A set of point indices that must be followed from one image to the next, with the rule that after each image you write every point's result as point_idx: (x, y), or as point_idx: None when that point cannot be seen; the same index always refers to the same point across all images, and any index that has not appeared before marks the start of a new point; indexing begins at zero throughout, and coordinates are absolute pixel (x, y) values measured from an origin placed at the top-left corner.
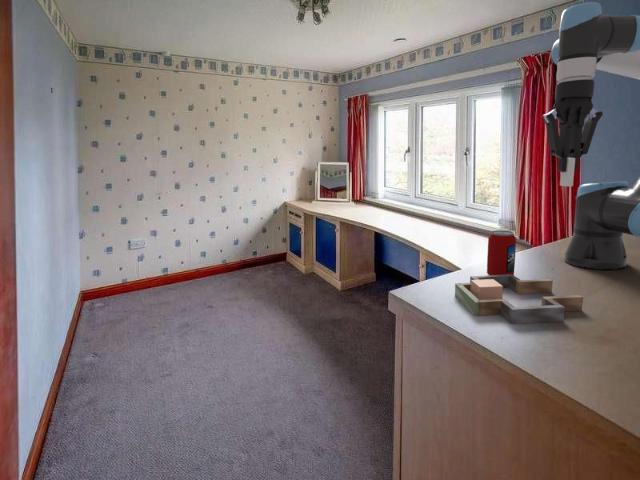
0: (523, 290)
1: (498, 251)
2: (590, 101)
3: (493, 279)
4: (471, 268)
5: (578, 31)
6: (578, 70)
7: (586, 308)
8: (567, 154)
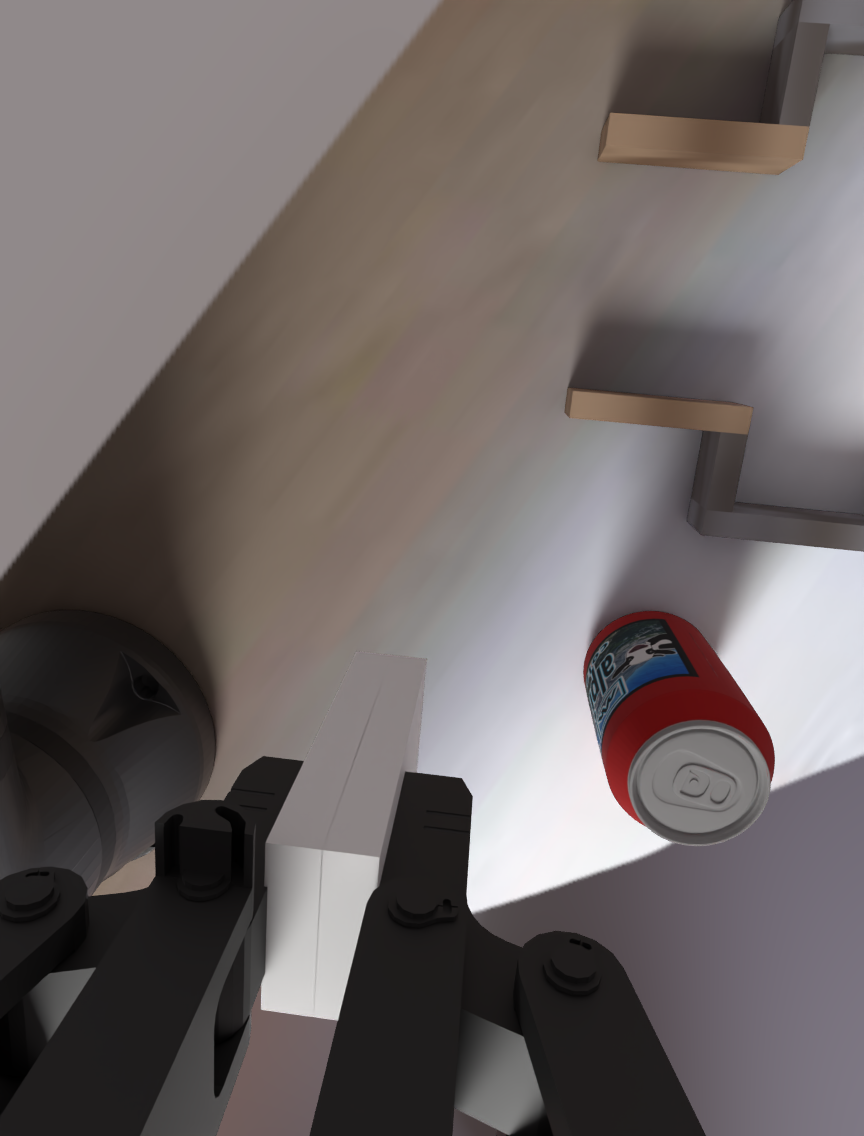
0: (713, 401)
1: (733, 682)
2: None
3: None
4: None
5: None
6: None
7: (560, 155)
8: (403, 908)
